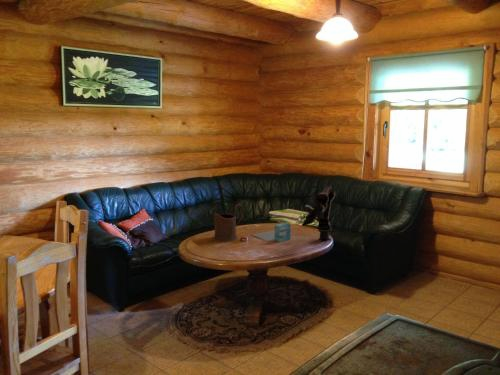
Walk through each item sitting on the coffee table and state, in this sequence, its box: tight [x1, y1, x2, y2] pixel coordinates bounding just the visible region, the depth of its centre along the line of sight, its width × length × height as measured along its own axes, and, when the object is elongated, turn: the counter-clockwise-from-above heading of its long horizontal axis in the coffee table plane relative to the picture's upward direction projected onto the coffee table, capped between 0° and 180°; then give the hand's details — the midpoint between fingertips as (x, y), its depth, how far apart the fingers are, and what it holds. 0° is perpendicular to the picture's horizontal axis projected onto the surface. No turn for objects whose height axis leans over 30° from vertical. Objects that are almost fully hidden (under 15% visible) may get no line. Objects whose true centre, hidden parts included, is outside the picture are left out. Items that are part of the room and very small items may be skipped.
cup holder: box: [212, 203, 244, 243], centre depth 326 cm, size 18×24×25 cm
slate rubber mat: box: [251, 229, 291, 242], centre depth 333 cm, size 22×20×1 cm
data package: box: [274, 222, 291, 243], centre depth 321 cm, size 12×4×12 cm, turn 130°
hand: (303, 224), depth 314 cm, fingers open, 8 cm apart
